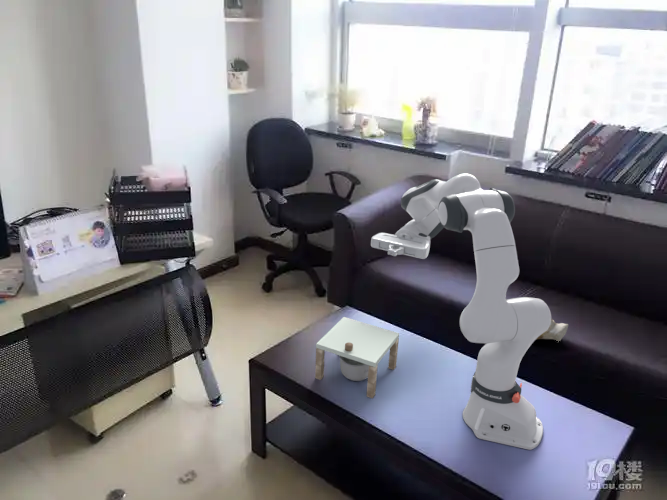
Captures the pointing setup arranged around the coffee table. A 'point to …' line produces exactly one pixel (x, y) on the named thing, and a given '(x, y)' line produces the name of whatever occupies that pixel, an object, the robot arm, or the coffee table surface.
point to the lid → (358, 341)
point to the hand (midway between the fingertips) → (391, 253)
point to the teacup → (353, 369)
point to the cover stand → (371, 372)
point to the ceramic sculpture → (554, 331)
